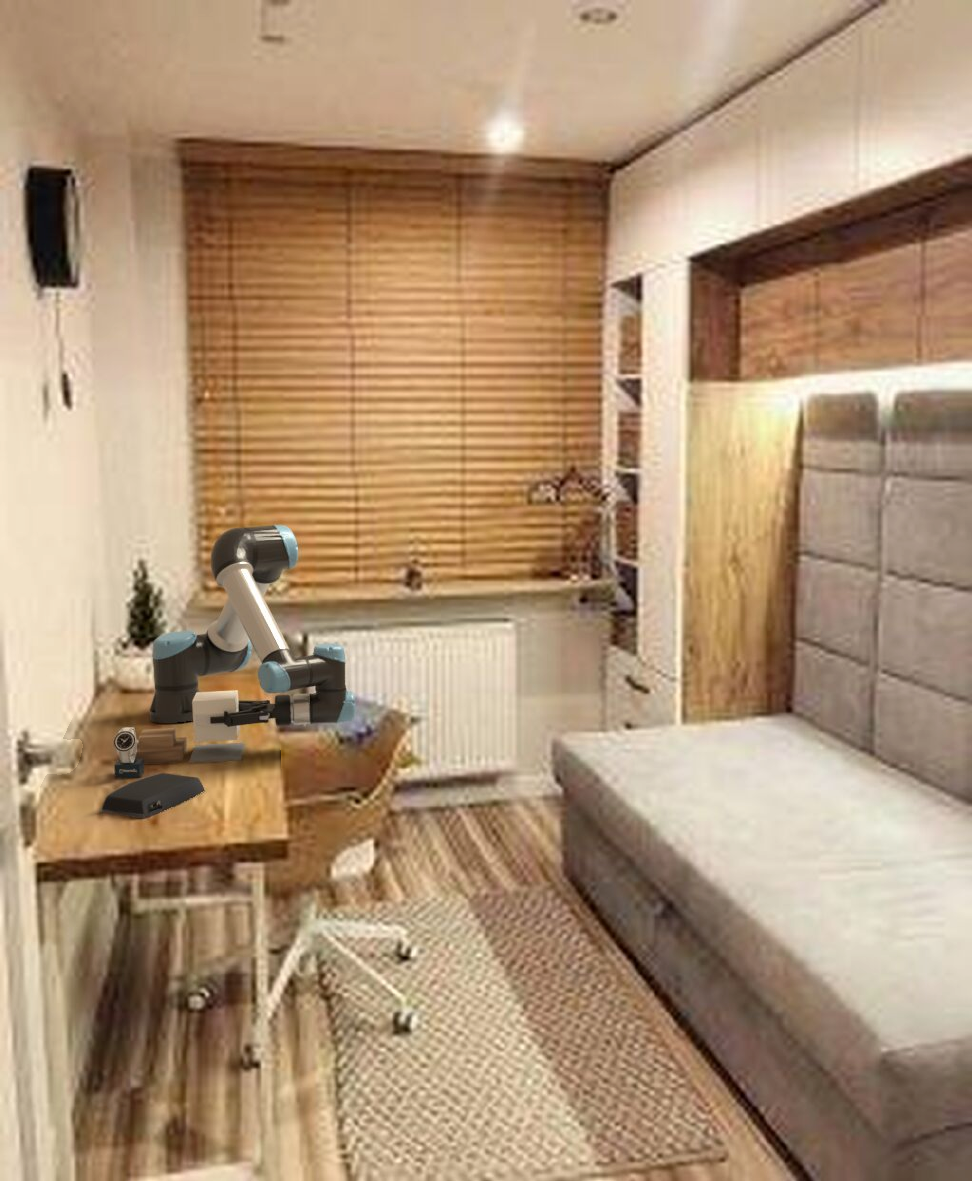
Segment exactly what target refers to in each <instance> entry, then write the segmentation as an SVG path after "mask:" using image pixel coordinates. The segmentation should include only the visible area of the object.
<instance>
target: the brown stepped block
mask: <svg viewBox="0 0 972 1181" xmlns="http://www.w3.org/2000/svg"><path fill="white" fill-rule="evenodd" d="M137 740H138V743H137V752H136V756H135V759H143V761H144V765H160V764H178V763H179V764H180V763H182V762H183V759H184V757H185V755H186V752H187V750H188V744H187V742H188V741H187V737H183V736H181V737H180V736H179V737H177V727H169V728H168V727H167V728H151V729H150V728H149V729H147V728H146V729H142V730H141V732H140V734H139V736H138V738H137Z"/></svg>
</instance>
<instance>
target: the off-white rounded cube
mask: <svg viewBox="0 0 972 1181" xmlns="http://www.w3.org/2000/svg"><path fill="white" fill-rule="evenodd" d="M238 700H239V690H237V689H235V690H219V691H218V690H217V691H200V692H196V694H195V696H194V698H193V701H192V707H193V721H192V723H193V724H192V725H193V741H194V743H209V742H225V741H226V742H227V741H238V738H239V736H240V735H239V734H240V730H241V725H238V726H230V727H227V725H225V724H224V725H206V726H196V714H209V713H224V711H227V712H228V713H236V712H239V706H238V704H239V702H238Z"/></svg>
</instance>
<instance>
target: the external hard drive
mask: <svg viewBox="0 0 972 1181" xmlns="http://www.w3.org/2000/svg"><path fill="white" fill-rule="evenodd" d="M203 791H204V792H205V791H206V790H205V787H204V785H203V783H202V781H201V780H200V778H199V777H197V776H189V775H188V776H186V775H180V774H174V773H173V774H172V773H165V772H159V773H155V774H152V775H149V776H145V777H142V778H139V779H136V780H133V781H131V782H129V783H126V784H125V785H122V786H121V787H118V788H117V789H115V790H113V791H112V792H110V793H109V794H107V795H106V797H104V800H103V803H102V805H101V808H100V812H101V813H105V812H106V814H111V815H119V816H126V817H130V818H131V817H132V818H139V819H148V818H150V817H153V816H155V815H158V814H160V812H161V813H163V812H165V811H164V810H166V811H167V809H168V810H170V809H169V808H171V807H173V808H175V807H177V806H179V805H181V803H182V802H183V803H185V802H184V801H186V802H188V801H189V799H190V798H192V799H194V798H196V797H197V796H196V795H198V794H199V795H201V794H202V793H201V792H203ZM204 792H203V793H204ZM200 793H201V794H200ZM199 795H198V796H199ZM195 796H196V797H195ZM193 797H194V798H193ZM187 800H188V801H187ZM190 800H191V799H190ZM183 803H182V804H183ZM171 809H172V808H171Z"/></svg>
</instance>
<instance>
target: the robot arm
mask: <svg viewBox="0 0 972 1181" xmlns="http://www.w3.org/2000/svg"><path fill="white" fill-rule="evenodd" d="M213 544H214V545H213V547H212V548H211V549H212V550H211V552H210V553H211V554H210V567H211V568H210V569H211V573H212V576H213V578H214V580H215V583H216V584H217V585H218V587H220V588H223V589H224V591H225V593H226V595H227V599H226V601H225V604H224V606H223V608H222V610H221V613H220V615H219V617H218V619H216V620H214V621H213V622H212V623H210V624H209V626H208V627H207V628H208V629H207V630H206V632H205V633H202V634H196V632H195V631H193V630H180V631H173V632H168V633H165V634H162V635H160V636H158V637H157V638H155V639H154V640H153V642H152V654H151V657H152V663H153V664H152V666H153V681H154V694H153V696H152V701H151V704H150V708H149V720H150V721H151V722H153V723H157V724H178V723H177V722H184V723H187V722H186V721H191V722H193V707H192V701H193V698H194V696H195V694H196V692H201V691H200V688H199V677H205V676H212V675H218V674H225V673H227V674H228V673H233V672H236V671H239V670H242V669H244V668H245V667H246V666H247V665H248V664H249V662H250V659H251V656H252V651H251V650H252V649H254V651H255V653H256V656H257V658H258V659H259V661H260V663H261V664H260V665H259V668H258V672H257V679H258V680H259V682H258V685H259V686H260V687H261V688H260V689H262V691H264V692H265V693H267V694H276V695H275V696H274V703H271V700H270V699H266V700H265V699H263V700H239V699H238V702H239V704H238V706H239V712H236V713H228V712H227V711H224V713H209V714H196V726H206V725H224V724H225V725H227V727H230V726H238V725H240V726H246V725H253V724H255V725H256V724H268V723H269V722H270V721H269V720H271V719H275V725H276V726H277V727H282V726H290V725H292V724H293V725H295V726H300V725H301V726H302V727H307V725H316V724H318V725H319V724H338V723H339V724H341V723H348V722H352V721H354V720H355V718H356V701H355V700H356V699H355V692H353V691H349V690H347V685H346V663H347V662H346V654H345V648H344V647H343V645H341V644H340V643H339V644H338V643H321V644H318V645H315V646H314V648H313V653H312V655H305V656H299V657H294V655H293V653H292V651H291V649H290V647H289V645H288V643H287V641H286V640H285V637H284V636H283V633H282V631H281V630H280V628H279V625H278V623H277V622H276V619H275V618H274V614H272V612H271V610H270V607H269V606H268V604H267V602H266V600H265V598H264V597H265V595H266V594H267V591H268V589H269V587H270V585H273V584H275V583H276V582H277V581H278V580H279V579H280V577H281V575H282V573H283V571H284V570H291V569H293V568H295V567H296V566H297V563H298V561H299V547H298V543H297V539H296V536H295V534H294V532H293V531H292V530H291V528H289V527H288V526H286V525H284V524H283V525H280V524H279V525H277V524H271V525H259V526H250V527H249V526H247V527H233V528H230V529H228V530H226V531H224V532H223V533H222V534H221V535H220V536H218V538H217V539H216V541H215V542H214V543H213ZM252 647H253V648H252ZM312 687H314V691H315V693H294V694H293V695H292V696H291V695H290V694H281V693H286V692H291V691H294V690H299V689H300V690H301V689H306V688H312ZM279 693H280V694H279ZM277 694H278V695H277Z"/></svg>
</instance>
